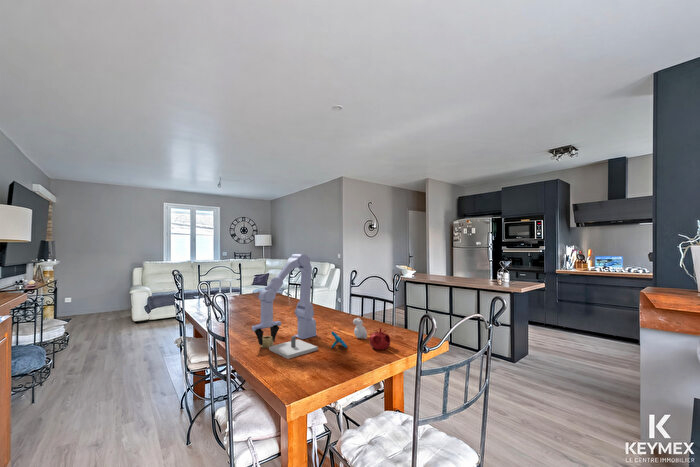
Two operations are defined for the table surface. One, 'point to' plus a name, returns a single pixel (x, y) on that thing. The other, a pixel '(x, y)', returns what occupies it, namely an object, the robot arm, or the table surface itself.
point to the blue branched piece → (338, 340)
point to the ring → (267, 342)
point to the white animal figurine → (359, 329)
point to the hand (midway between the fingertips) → (266, 343)
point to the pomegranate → (380, 340)
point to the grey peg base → (293, 348)
